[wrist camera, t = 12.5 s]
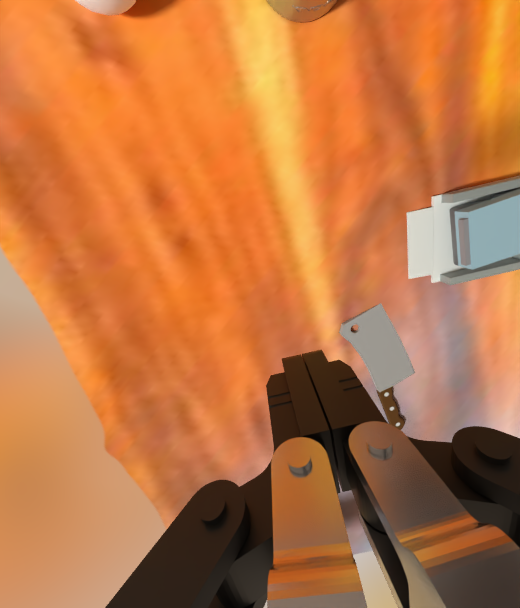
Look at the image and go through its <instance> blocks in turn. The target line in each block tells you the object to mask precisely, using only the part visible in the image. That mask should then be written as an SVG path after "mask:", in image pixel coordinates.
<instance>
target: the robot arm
mask: <svg viewBox="0 0 520 608" xmlns="http://www.w3.org/2000/svg"><path fill="white" fill-rule="evenodd" d="M267 2H268V3H269V4H270V6H271V7H272V8H273V9H274V10H275V11H276V12H277V13H278V14H280V15H281V16H282V17H284V18H286V19H288V20H291V21H295V22H309V21H313V20H315V19H318V18H320V17H321V16H323V15H324V14H325V13H327V12H328V11H329V10H330V9H331V8H332V7H333V6H334V5H335V3H336V2H337V0H267ZM282 363H283V367H284V371H285V372H284V373H279V374H275V375H271V376H270V378H269V381H268V383H267V385H266V387H267V395H268V403H269V411H270V419H271V426H272V434H273V442H274V453H273V457H272V460H271V462H270V464H269V465H268V467H267V468H266V469H265V470H264V471H263V472H262V473H261V474H260V475H259V476H257V477H256V478H254V479H252V480H251V481H249V482H247V483H246V484H244V485H242V486H240V487H238V485H236V484H235V483H233V482H231V481H228V480H217V481H213V482H211V483H209V484H207V485H205V486H204V487H202V488H201V489H200V490H199V491H197V492H196V494H195V495H194V496H193V497H192V498H191V500H190V501H189V502H188V503H187V505H186V506H185V507H184V508H183V510H182V511H181V512H180V514H179V515H178V516H177V517H176V519H175V520H174V521H173V522H172V524H171V525H170V526H169V527H168V529H167V530H166V531H165V533H164V534H163V535H162V536H161V538H160V539H159V540H158V542H157V543H156V544H155V545H154V547H153V548H152V549H151V550H150V552H149V553H148V554H147V555H146V557H145V558H144V559H143V560H142V562H141V563H140V564H139V566H138V567H137V568H136V570H135V571H134V572H133V573H132V574H131V576H130V577H129V578H128V580H127V581H126V582H125V583H124V585H123V586H122V587H121V588H120V590H119V591H118V592H117V594H116V595H115V596H114V597H113V599H112V600H111V601H110V602H109V604H108V605H107V606H106V608H263V607H264V605H265V603H266V600H268V601H267V603H268V604H267V606H268V608H367V605H366V601H365V597H364V593H363V589H362V585H361V581H360V577H359V573H358V570H357V566H356V563H355V560H354V558H353V555H352V551H351V547H350V543H349V539H348V535H347V531H346V527H345V523H344V519H343V515H342V511H341V507H340V503H339V498H338V493H340V488H339V483H340V486H341V488H342V491H343V492H344V491H349V490H352V492H353V495H354V498H355V500H356V503H357V506H358V512H359V518H360V522H361V524H362V527H363V529H364V531H365V533H366V536H367V538H368V540H369V543H370V545H371V547H372V549H373V552H374V554H375V556H376V558H377V561H378V563H379V565H380V567H381V570H382V572H383V574H384V577H385V579H386V581H387V583H388V585H389V588H390V590H391V592H392V595H393V597H394V599H395V601H396V604H397V606H398V608H520V438H517V437H514V436H512V435H509V434H506V433H504V432H501V431H498V430H495V429H491V428H487V427H479V426H473V427H466V428H463V429H461V430H459V431H457V432H456V433H455V435H454V436H453V439H452V443H450V442H436V441H423V440H417V439H413V438H410V437H407V436H406V435H405V434H404V433H403V432H402V431H401V430H399V429H398V428H396V427H395V426H393V425H390V424H388V423H387V422H386V420H385V419H384V417H383V416H382V414H381V413H380V411H379V410H378V408H377V406H376V405H375V403H374V402H373V400H372V399H371V397H370V396H369V394H368V393H367V391H366V390H365V388H364V387H363V385H362V384H361V382H360V380H359V379H358V378H357V376H356V374H355V373H354V371H353V370H352V368H351V367H350V366H348V365H347V364H345V363H344V362H342V361H340V360H337V361H332V362H328V361H327V359H326V357H325V355H324V353H323V351H322V350H318V351H313V352H309V353H304V354H302V356H301V354H300V355H296V356H291V357H287V358H283V359H282ZM338 480H339V482H338Z"/></svg>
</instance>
